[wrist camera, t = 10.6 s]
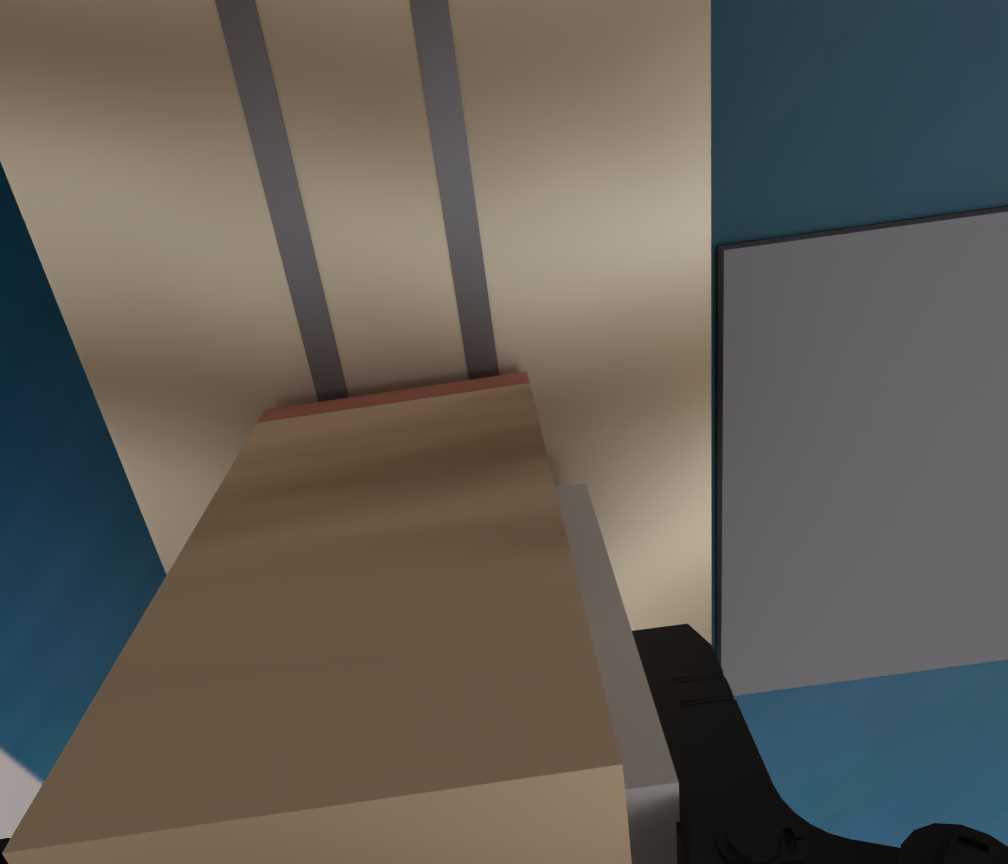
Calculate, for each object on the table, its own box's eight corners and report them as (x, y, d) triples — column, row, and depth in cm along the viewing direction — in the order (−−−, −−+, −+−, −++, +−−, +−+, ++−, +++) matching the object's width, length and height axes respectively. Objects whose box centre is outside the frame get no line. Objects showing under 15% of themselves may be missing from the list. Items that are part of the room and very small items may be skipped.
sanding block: (265, 409, 14) (1, 853, 6) (526, 371, 14) (622, 764, 6) (346, 688, 17) (245, 1239, 9) (563, 657, 17) (661, 1180, 9)
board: (-131, -288, 11) (-198, -328, 10) (684, -404, 11) (710, -457, 10) (266, 759, 21) (255, 799, 20) (698, 702, 21) (711, 738, 19)
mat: (717, 245, 15) (723, 250, 15) (1163, 184, 15) (1180, 187, 15) (716, 686, 20) (721, 697, 20) (1045, 642, 20) (1056, 653, 20)
